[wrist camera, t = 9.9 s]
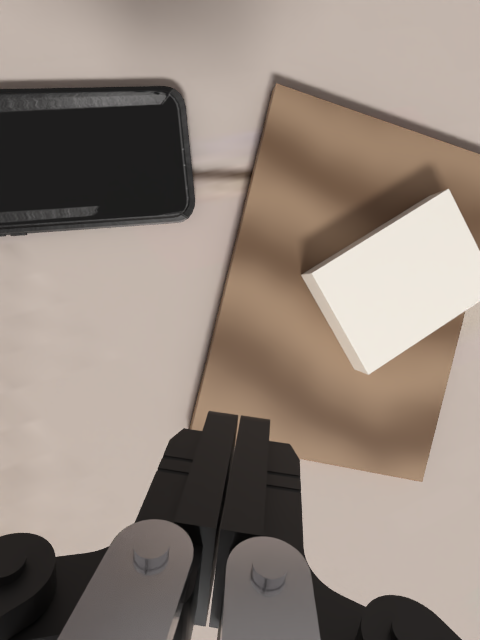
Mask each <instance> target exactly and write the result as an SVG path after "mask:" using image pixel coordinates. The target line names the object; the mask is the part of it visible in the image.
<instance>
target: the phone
mask: <svg viewBox="0 0 480 640" xmlns="http://www.w3.org/2000/svg"><path fill="white" fill-rule="evenodd" d="M194 207H195V195H194V185H193V175H192V165H191V155H190V145H189V135H188V126H187V116H186V106H185V102H184V99H183V98H182V96H181V94H180V93H179V92H177V91H176V90H175V89H173V88H171V87H165V86H149V87H96V88H44V89H0V236H6V235H11V236H19V235H27V233H39V232H53V231H68V230H82V229H97V228H111V227H126V226H140V225H154V224H169V223H179V222H183V221H185V220H186V219H188V218H189V217H190V215H191V214H192V212H193V209H194Z"/></svg>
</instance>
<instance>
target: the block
mask: <svg viewBox="0 0 480 640" xmlns="http://www.w3.org/2000/svg"><path fill="white" fill-rule="evenodd" d="M301 276H302V278H303V280H304V281H305V283H306V285H307V287H308V288H309V290H310V292H311V294H312V295H313V297H314V299H315V301H316V303H317V304H318V306H319V308H320V310H321V311H322V313H323V315H324V317H325V318H326V320H327V322H328V324H329V326H330V327H331V329H332V331H333V333H334V334H335V336H336V338H337V340H338V341H339V343H340V345H341V347H342V349H343V350H344V352H345V354H346V356H347V357H348V359H349V361H350V363H351V364H352V366H353V368H354V369H355V370H357V371H360V372H362V373H365V374H368V375H369V374H370V373H372V372H374V371H375V370H377V369H378V368H380V367H381V366H383V365H384V364H386V363H387V362H389V361H390V360H392V359H393V358H395V357H396V356H398V355H399V354H401V353H402V352H404V351H405V350H407V349H408V348H410V347H411V346H413V345H414V344H416V343H417V342H419V341H420V340H422V339H423V338H425V337H426V336H428V335H429V334H431V333H432V332H434V331H435V330H437V329H438V328H440V327H442V326H443V325H445V324H446V323H448V322H449V321H451V320H452V319H454V318H455V317H457V316H458V315H460V314H461V313H463V312H464V311H466V310H467V309H469V308H470V307H472V306H473V305H475V304H476V303H478V302H479V301H480V250H479V248H478V246H477V244H476V242H475V240H474V238H473V236H472V234H471V232H470V230H469V228H468V226H467V224H466V222H465V220H464V218H463V216H462V214H461V212H460V210H459V208H458V206H457V204H456V202H455V200H454V198H453V196H452V194H451V192H450V190H449V189H446V190H444V191H441V192H438V193H436V194H433V195H430V196H428V197H427V198H425V199H423V200H422V201H420V202H419V203H417V204H415V205H414V206H412V207H410V208H409V209H407V210H406V211H404V212H402V213H401V214H399V215H397V216H396V217H394V218H393V219H391V220H389V221H388V222H386V223H384V224H383V225H381V226H380V227H378V228H376V229H375V230H373V231H371V232H370V233H368V234H367V235H365V236H363V237H362V238H360V239H358V240H357V241H355V242H354V243H352V244H350V245H349V246H347V247H345V248H344V249H342V250H341V251H339V252H337V253H336V254H334V255H332V256H331V257H329V258H328V259H326V260H324V261H323V262H321V263H319V264H318V265H316V266H315V267H313V268H311V269H310V270H308V271H306V272H305V273H303V274H302V275H301Z"/></svg>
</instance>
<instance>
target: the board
mask: <svg viewBox="0 0 480 640" xmlns="http://www.w3.org/2000/svg"><path fill="white" fill-rule="evenodd" d="M446 189H449V190H450V192H451V194H452V196H453V198H454V200H455V202H456V204H457V206H458V208H459V210H460V212H461V214H462V216H463V218H464V220H465V222H466V224H467V226H468V228H469V230H470V232H471V234H472V236H473V238H474V240H475V242H476V244H477V246H478V248H479V250H480V154H478V153H475V152H472V151H469V150H466V149H463V148H460V147H457V146H455V145H452V144H449V143H446V142H443V141H440V140H437V139H435V138H432V137H429V136H426V135H423V134H420V133H417V132H415V131H412V130H409V129H406V128H403V127H400V126H397V125H394V124H392V123H389V122H386V121H383V120H380V119H377V118H374V117H372V116H369V115H366V114H363V113H360V112H357V111H354V110H351V109H349V108H346V107H343V106H340V105H337V104H334V103H331V102H329V101H326V100H323V99H320V98H317V97H314V96H311V95H309V94H306V93H303V92H300V91H297V90H294V89H291V88H288V87H286V86H283V85H280V84H277V83H276V85H275V87H274V89H273V91H272V94H271V98H270V102H269V107H268V111H267V115H266V119H265V123H264V127H263V131H262V135H261V139H260V143H259V147H258V151H257V155H256V160H255V164H254V168H253V172H252V176H251V180H250V184H249V188H248V192H247V196H246V200H245V204H244V209H243V213H242V217H241V221H240V225H239V229H238V233H237V237H236V241H235V245H234V249H233V253H232V257H231V262H230V266H229V270H228V274H227V278H226V282H225V286H224V290H223V294H222V298H221V302H220V306H219V310H218V315H217V319H216V323H215V327H214V331H213V335H212V339H211V343H210V347H209V351H208V355H207V359H206V363H205V368H204V372H203V376H202V380H201V384H200V388H199V392H198V396H197V400H196V404H195V408H194V412H193V416H192V421H191V425H190V429H191V430H198V431H202V430H203V427H204V424H205V421H206V418H207V414H208V412H209V411H214V412H221V413H228V414H235V415H238V425H237V433H236V439H237V434H238V428H239V423H240V417H241V415H243V416H250V417H257V418H263V419H270V435H269V441H274V442H281V443H288V444H290V445H291V446H292V448H293V450H294V451H295V453H296V454H297V456H298V458H299V459H304V460H309V461H314V462H320V463H325V464H330V465H335V466H341V467H346V468H351V469H356V470H362V471H367V472H372V473H378V474H383V475H388V476H393V477H399V478H404V479H409V480H414V481H420V482H422V481H423V477H424V473H425V469H426V465H427V461H428V457H429V453H430V449H431V445H432V441H433V437H434V433H435V429H436V425H437V421H438V417H439V413H440V409H441V405H442V401H443V397H444V393H445V389H446V385H447V382H448V378H449V374H450V370H451V366H452V362H453V358H454V354H455V350H456V346H457V342H458V338H459V334H460V330H461V326H462V322H463V318H464V314H465V311H464V312H463V313H461V314H460V315H458V316H457V317H455V318H454V319H452V320H451V321H449V322H448V323H446V324H445V325H443V326H442V327H440V328H438V329H437V330H435V331H434V332H432V333H431V334H429V335H428V336H426V337H425V338H423V339H422V340H420V341H419V342H417V343H416V344H414V345H413V346H411V347H410V348H408V349H407V350H405V351H404V352H402V353H401V354H399V355H398V356H396V357H395V358H393V359H392V360H390V361H389V362H387V363H386V364H384V365H383V366H381V367H380V368H378V369H377V370H375V371H374V372H372V373H370V374H369V375H368V374H365V373H362V372H360V371H357V370H355V369H354V368H353V366H352V364H351V363H350V361H349V359H348V357H347V356H346V354H345V352H344V350H343V349H342V347H341V345H340V343H339V341H338V340H337V338H336V336H335V334H334V333H333V331H332V329H331V327H330V326H329V324H328V322H327V320H326V318H325V317H324V315H323V313H322V311H321V310H320V308H319V306H318V304H317V303H316V301H315V299H314V297H313V295H312V294H311V292H310V290H309V288H308V287H307V285H306V283H305V281H304V280H303V278H302V276H301V275H302V274H303V273H305V272H306V271H308V270H310V269H311V268H313V267H315V266H316V265H318V264H319V263H321V262H323V261H324V260H326V259H328V258H329V257H331V256H332V255H334V254H336V253H337V252H339V251H341V250H342V249H344V248H345V247H347V246H349V245H350V244H352V243H354V242H355V241H357V240H358V239H360V238H362V237H363V236H365V235H367V234H368V233H370V232H371V231H373V230H375V229H376V228H378V227H380V226H381V225H383V224H384V223H386V222H388V221H389V220H391V219H393V218H394V217H396V216H397V215H399V214H401V213H402V212H404V211H406V210H407V209H409V208H410V207H412V206H414V205H415V204H417V203H419V202H420V201H422V200H423V199H425V198H427V197H428V196H430V195H433V194H436V193H438V192H441V191H444V190H446ZM235 445H236V441H235Z"/></svg>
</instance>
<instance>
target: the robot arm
mask: <svg viewBox="0 0 480 640" xmlns="http://www.w3.org/2000/svg"><path fill="white" fill-rule="evenodd" d="M237 425H238V415H235V414H228V413H221V412H214V411H209V412H208V414H207V418H206V421H205V424H204V427H203V430H202V431H198V430H191V429H185V428H184V429H182V430H181V431H180V432H179V433H178V434H176V435H175V436H174V437H173V438H172V439H170V441H169V443H168V445H167V448H166V450H165V452H164V455H163V458H162V460H161V462H160V464H159V467H158V471H156V474H155V476H154V479H153V481H152V483H151V486H150V488H149V490H148V493H147V495H146V497H145V500H144V502H143V505H142V507H141V509H140V512H139V514H138V516H137V519H136V521H135V523H134V524H132V525H130V526H128V527H126V528H125V529H123V530H122V531H121V532H120V533H119V534H118V535H117V536H116V537H115V538H114V540H113V541H112V543H111V544H110V546H109V547H106V548H104V549H101V550H98V551H95V552H90V553H83V554H75V555H67V556H59V557H55V553H54V549H53V547H52V546H51V544H50V543H49V542H48V541H47V540H46V539H44V538H43V537H40V536H38V535H35V534H30V533H14V534H8V535H4V536H1V537H0V640H191V635H192V630H193V625H200V626H206V621H207V615H208V609H209V603H210V598H211V592H212V586H213V581H214V588H213V597H212V606H211V615H210V623H209V627H213V628H218V637H217V640H462V639H460V638H459V637H458V636H457V635H456V634H455V633H454V632H453V631H452V630H451V629H450V628H449V627H448V626H447V625H446V624H445V623H444V622H443V621H442V620H441V619H440V618H439V617H438V616H437V615H436V614H434V613H433V612H432V611H431V610H429V609H428V608H427V607H425V606H424V605H422V604H420V603H418V602H416V601H414V600H412V599H409V598H406V597H402V596H396V595H385V596H381V597H378V598H376V599H374V600H372V601H371V602H370V603H369V604H368V605H367V607H365V606H363V605H360V604H358V603H356V602H354V601H352V600H350V599H348V598H346V597H344V596H342V595H340V594H338V593H336V592H334V591H333V590H331V589H330V588H328V587H327V586H326V585H325V584H323V583H322V582H321V581H320V580H319V579H318V578H317V577H316V575H315V574H314V573H313V571H312V570H311V569H310V567H309V565H308V563H307V561H306V558H305V555H304V548H303V526H302V504H301V482H300V460H299V458H298V456H297V454H296V453H295V451H294V450H293V448H292V446H291V445H290V444H288V443H281V442H274V441H269V435H270V419H263V418H257V417H250V416H243V415H241V417H240V423H239V428H238V434H237V439H236V433H237ZM235 441H236V445H235ZM215 569H216V571H215ZM214 575H215V580H214Z"/></svg>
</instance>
